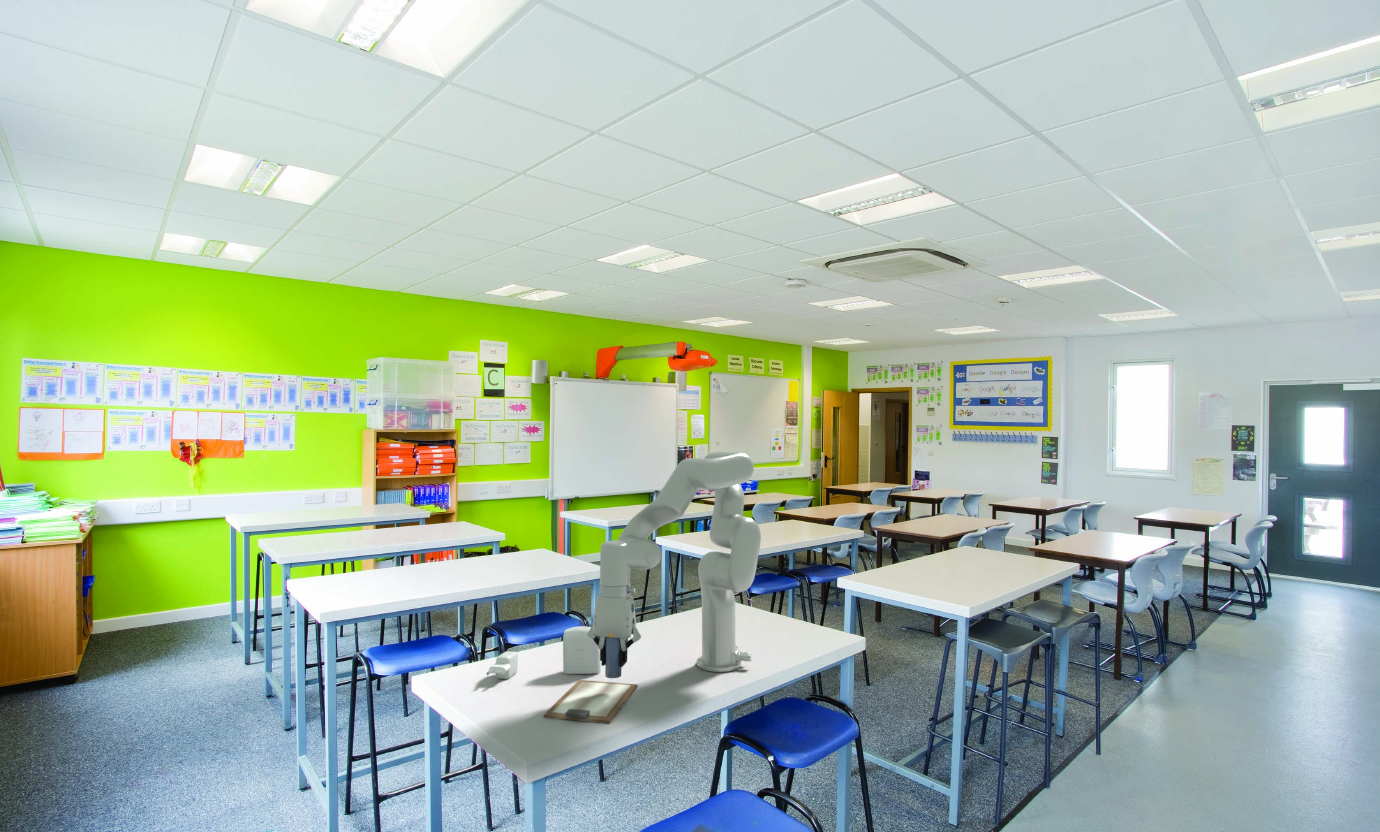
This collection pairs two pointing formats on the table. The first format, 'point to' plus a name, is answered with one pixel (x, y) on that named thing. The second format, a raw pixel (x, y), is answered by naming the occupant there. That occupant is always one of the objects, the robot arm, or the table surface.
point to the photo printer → (580, 652)
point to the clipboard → (592, 701)
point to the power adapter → (505, 665)
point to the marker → (612, 657)
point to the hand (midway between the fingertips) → (613, 663)
